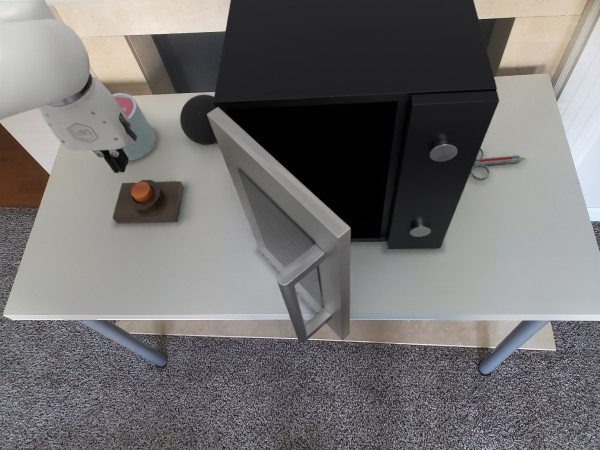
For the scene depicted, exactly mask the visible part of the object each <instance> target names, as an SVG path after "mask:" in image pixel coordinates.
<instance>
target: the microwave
mask: <svg viewBox="0 0 600 450" xmlns="http://www.w3.org/2000/svg"><path fill="white" fill-rule="evenodd" d="M226 19H227V20H226V26H225V30H224V37H223V43H222V48H221V54H220V60H219V66H218V72H217V78H216V83H215V90H214V95H213V96H214V101H213V103H214V106H215V108H217V107H219V108H220V109H221V110H222V111H223V112H224V113H225V114H226V115H227V116H229V117H230V118H231V119H232V120H233V121H234V122H235V123H236V124H237V125H238V126H239V127H241V128H242V129H243V130H244V131H245V132H246V133H247V134H248V135H249V136H250V137H252V138H253V139H254V140H255V141H256V142H257V143H258V144H259V145H260V146H261V147H262V148H264V149H265V150H266V151H267V152H268V153H269V154H270V155H271V156H272V157H273V158H275V159H276V160H277V161H278V162H279V163H280V164H281V165H282V166H283V167H284V168H285V169H287V170H288V171H289V172H290V173H291V174H292V175H293V176H294V177H295V178H296V179H298V180H299V181H300V182H301V183H302V184H303V185H304V186H305V187H306V188H307V189H309V190H310V191H311V192H312V193H313V194H314V195H315V196H316V197H317V198H318V199H319V200H321V201H322V202H323V203H324V204H325V205H326V206H327V207H328V208H329V209H330V210H332V211H333V212H334V213H335V214H336V215H337V216H338V217H339V218H340V219H341V220H342V221H344V222H345V223H346V224H347V225H348V226H349V227H350V228H351V243H380V242H381V243H382V242H383V243H384V242H386V246H387V250H417V249H418V250H420V249H441V247H442V245H443V242H444V240H445V238H446V235H447V233H448V230H449V228H450V225H451V224H452V223H451V222H452V221H453V218H454V216H455V214H456V213H455V212H456V210H457V207H458V205H459V203H460V200H461V197H462V195H463V193H464V190H465V188H466V185H467V182H468V180H469V178H470V176H471V170H472V171H473V169H474V168H473V165H474V163H475V160H476V159H478V155H479V152H480V148H481V147H482V145H483V143H484V141H485V138H486V135H487V133H488V130H489V128H490V125H491V123H492V120H493V118H494V115H495V112H496V110H497V107H498V105H499V102H500V97H499V94H498V91H497V90H498V86H497V83H496V80H495V75H494V72H493V67H492V64H491V60H490V56H489V52H488V50H487V45H486V41H485V39H484V38H485V37H484V34H483V31H482V26H481V23H480V20H479V19H480V18H479V15H478V11H477V8H476V5H475V0H230V2H229V8H228V13H227V18H226ZM481 149H482V148H481ZM472 168H473V169H472Z"/></svg>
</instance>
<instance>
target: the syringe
mask: <svg viewBox="0 0 600 450" xmlns="http://www.w3.org/2000/svg"><path fill="white" fill-rule="evenodd" d="M479 152H481V157H479V158H476V160H475V163H474V165H473V168H472V170H471V173H470V176H471V177H473V178H474V179H475V180H479V181H484V180H486V179H487V178H489V176H490V173H491V172H490V169H489V168H488V167H487V166H497V165H507V164H517V163H520V161H523V160H526V159H528V157H526V158H525V157H522V156H521V157H520V155H510V156H498V157H497V156H496V157H485V158H484V155H485V153H484V150H483V149H482V148H480V150H479ZM477 167H481V168H484V169H485V170H486V171H487V175H486V176H484V177H478V176H477V175H475V174H474V173H473V170H474V168H477Z"/></svg>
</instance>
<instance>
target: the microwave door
mask: <svg viewBox="0 0 600 450" xmlns="http://www.w3.org/2000/svg"><path fill="white" fill-rule="evenodd" d="M207 116H208V119H209V121H210V124H211V126H212V129H213V132H214V134H215V137H216V139H217V142H218V143H217V145H218V147H219V149H220V152H221V155H222V157H223V160H224V162H225V165H226V167H227V170H228V172H229V176H230V178H231V180H232V184H233V186H234V188H235V190H236V193H237V196H238V198H239V201H240V204H241V206H242V208H243V210H244V214H245V216H246V219H247V222H248V224H249V227H250V230H251V232H252V235H253V237H254V240H255V242H256V245H257V247H258V250H259V252H260V253H261V254H262V256H263V257H264V258H265V259H266V260H267V261H268V262H269V263H270V264H271V265H272V267H274V269H275V270H276V271H277V272H278V273H277V275H276V278H275V280H276V283H277V286H278V289H279V291H280V294H281V297H282V299H283V302H284V305H285V308H286V311H287V313H288V315H289V319H290V322H291V324H292V328H293V330H294V333H295V336H296V338H297V340H298V341H299V342H300V343H305V342H307V341H308V340H310V338H311V337H312V336H314V335H315V334H316V333H317V332H318V331H319V330H320V329H321V328H323V327H324V326H325V325H327V326H328V327H329V328H330V329H331V330H332V332H333V333H335V335H336V336H337V337H338V338H339V339H340V340H341V341H344V340H345V339H346V338H347V337H348V336H350V334H351V333H350V332H351V331H350V330H351V327H350V326H351V325H350V324H351V243H352V242H351V228H350V227H349V226H348V225H347V224H346V223H345V222H344V221H342V220H341V219H340V218H339V217H338V216H337V215H336V214H335V213H334V212H333V211H332V210H330V209H329V208H328V207H327V206H326V205H325V204H324V203H323V202H322V201H321V200H319V199H318V198H317V197H316V196H315V195H314V194H313V193H312V192H311V191H310V190H309V189H307V188H306V187H305V186H304V185H303V184H302V183H301V182H300V181H299V180H298V179H296V178H295V177H294V176H293V175H292V174H291V173H290V172H289V171H288V170H287V169H285V168H284V167H283V166H282V165H281V164H280V163H279V162H278V161H277V160H276V159H275V158H273V157H272V156H271V155H270V154H269V153H268V152H267V151H266V150H265V149H264V148H262V147H261V146H260V145H259V144H258V143H257V142H256V141H255V140H254V139H253V138H252V137H250V136H249V135H248V134H247V133H246V132H245V131H244V130H243V129H242V128H241V127H239V126H238V125H237V124H236V123H235V122H234V121H233V120H232V119H231V118H230V117H229V116H227V115H226V114H225V113H224V112H223V111H222V110H221V109H220V108H219V107H217V108H215V109H214V110H212V111H211V112H209V113H208V114H207ZM298 295H300V297H301V298H302V299H303V300H304V301H305V302H306V303H307V304H308V305H309V306H310V308H312V310H313V311H314V312H315V313H316V314H315V315H313V316H312V317H311V318H310V319H309V320H307V321H306V322H305V320H304V315H303V312H302V309H301V305H300V302H299V298H298Z"/></svg>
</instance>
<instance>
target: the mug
mask: <svg viewBox="0 0 600 450" xmlns="http://www.w3.org/2000/svg"><path fill="white" fill-rule="evenodd" d="M111 94H112V95H113V96H114V98H115V99H116V100H117V102H118V103H119V105H120V106H121V107H122V109H123V110H124V112H125V113H126V115H127V117H128V118H129V120H130V122H131V125H132V127H131V128H130V129H131V130H132V131H133V132H134V133H135V134H136V135H137V140H136V143H135V144H132V145H128V146H125V147H124V148H123V150H124V152H125V153H126V155H127V156H128V158H129V161H136V160H139V159H142V158H144V157H146V155H148V154H149V153H150V152H151V151H152V150H153V149H154V147H155V145H156V141H157V140H156V138H157V137H156V134H155V133H154V130H153V129H152V127H151V125H150V124H149V122H148V120H147V118H146V117H145V115H144V113H143V111H142V109H141V108H140V106H139V103H137V100H136V99H135V98H134V97H133V95H131V94H129V93H125V92H117V93H111Z"/></svg>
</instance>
